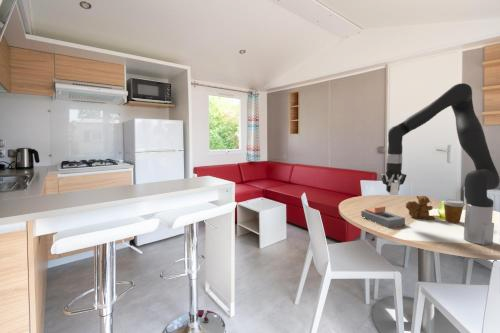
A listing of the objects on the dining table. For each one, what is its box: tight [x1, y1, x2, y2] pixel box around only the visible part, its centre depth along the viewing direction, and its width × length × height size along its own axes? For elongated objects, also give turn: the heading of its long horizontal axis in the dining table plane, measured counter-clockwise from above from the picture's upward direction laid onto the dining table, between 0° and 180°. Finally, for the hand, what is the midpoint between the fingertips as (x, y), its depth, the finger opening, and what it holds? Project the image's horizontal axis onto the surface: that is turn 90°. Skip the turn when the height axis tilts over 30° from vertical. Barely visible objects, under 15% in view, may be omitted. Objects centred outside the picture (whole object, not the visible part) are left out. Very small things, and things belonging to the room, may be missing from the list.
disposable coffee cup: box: [442, 198, 466, 224], centre depth 143 cm, size 10×10×12 cm
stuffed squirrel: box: [405, 195, 436, 220], centre depth 152 cm, size 10×14×13 cm
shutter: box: [364, 206, 386, 214], centre depth 152 cm, size 8×7×4 cm
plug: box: [386, 180, 400, 196], centre depth 143 cm, size 4×4×8 cm
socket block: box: [360, 209, 406, 229], centre depth 147 cm, size 20×12×4 cm, turn 18°
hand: (392, 191), depth 143 cm, fingers closed on plug, 4 cm apart
